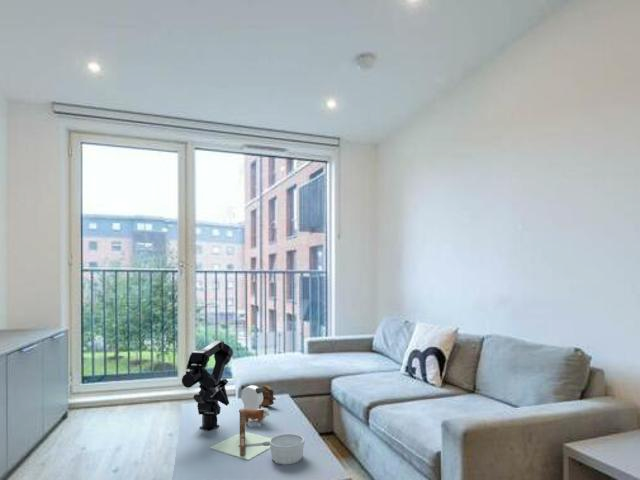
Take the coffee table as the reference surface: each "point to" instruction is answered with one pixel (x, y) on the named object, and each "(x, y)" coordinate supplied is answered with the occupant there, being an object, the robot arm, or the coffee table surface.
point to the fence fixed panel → (242, 445)
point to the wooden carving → (268, 396)
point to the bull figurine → (256, 415)
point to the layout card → (252, 445)
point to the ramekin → (287, 448)
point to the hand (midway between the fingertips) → (228, 404)
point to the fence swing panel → (242, 422)
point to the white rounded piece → (252, 397)
